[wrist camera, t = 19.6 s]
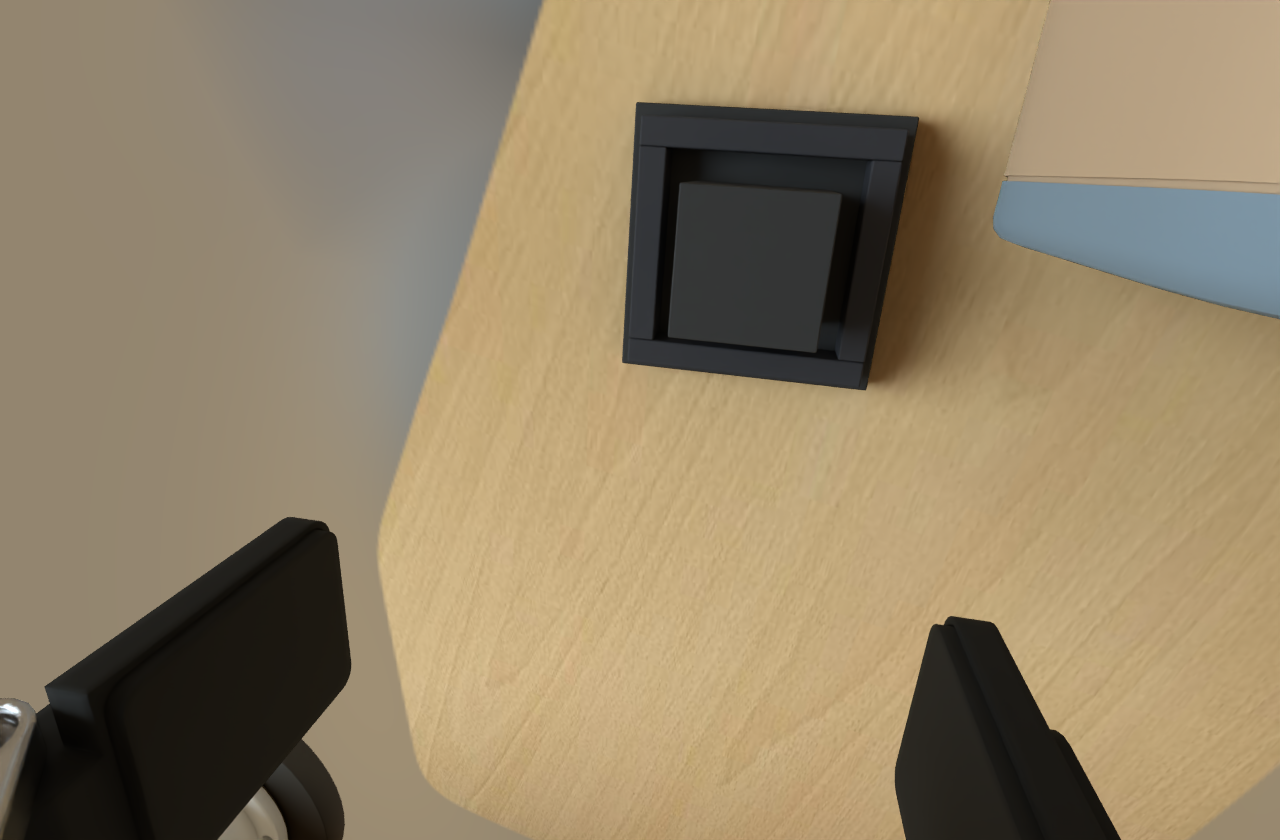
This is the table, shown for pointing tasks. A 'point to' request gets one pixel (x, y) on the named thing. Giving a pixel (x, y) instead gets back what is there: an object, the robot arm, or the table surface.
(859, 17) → the table surface
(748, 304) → the black cube
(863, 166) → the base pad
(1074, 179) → the alarm clock
